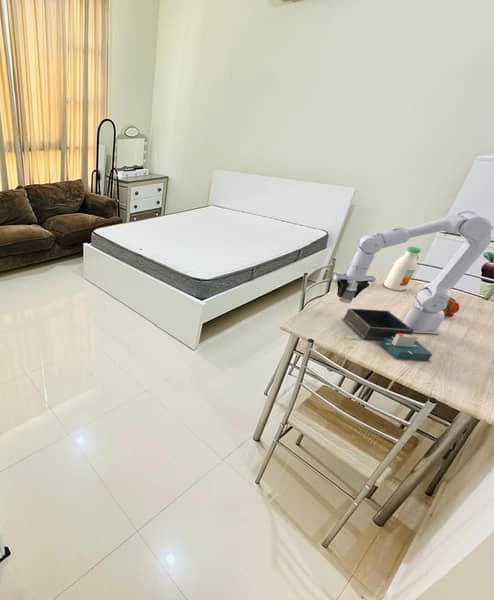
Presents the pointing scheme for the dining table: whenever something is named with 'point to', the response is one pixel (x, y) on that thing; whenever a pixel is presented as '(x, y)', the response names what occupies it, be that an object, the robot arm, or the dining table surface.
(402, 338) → the white rectangular block
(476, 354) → the dining table surface
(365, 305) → the dining table surface
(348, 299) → the pill bottle
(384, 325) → the dark open box
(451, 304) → the dragon fruit
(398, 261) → the milk bottle
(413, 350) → the teal flat box
